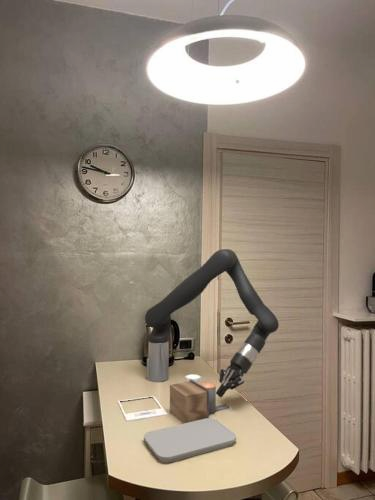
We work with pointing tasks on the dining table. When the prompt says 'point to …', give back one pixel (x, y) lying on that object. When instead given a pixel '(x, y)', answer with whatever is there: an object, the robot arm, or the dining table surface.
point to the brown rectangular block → (190, 402)
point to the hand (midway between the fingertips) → (218, 395)
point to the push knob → (211, 394)
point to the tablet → (188, 439)
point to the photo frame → (143, 412)
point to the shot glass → (193, 378)
